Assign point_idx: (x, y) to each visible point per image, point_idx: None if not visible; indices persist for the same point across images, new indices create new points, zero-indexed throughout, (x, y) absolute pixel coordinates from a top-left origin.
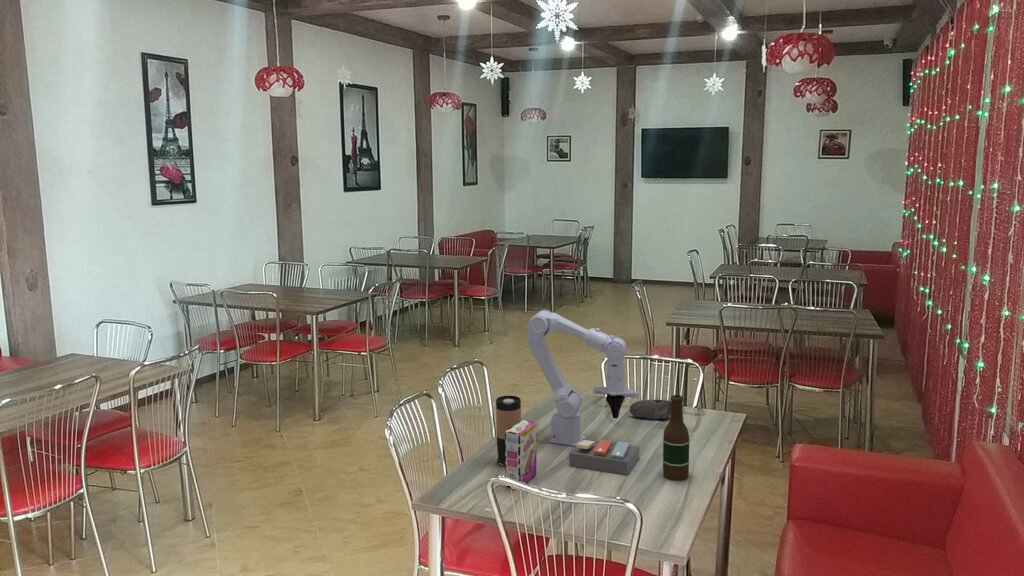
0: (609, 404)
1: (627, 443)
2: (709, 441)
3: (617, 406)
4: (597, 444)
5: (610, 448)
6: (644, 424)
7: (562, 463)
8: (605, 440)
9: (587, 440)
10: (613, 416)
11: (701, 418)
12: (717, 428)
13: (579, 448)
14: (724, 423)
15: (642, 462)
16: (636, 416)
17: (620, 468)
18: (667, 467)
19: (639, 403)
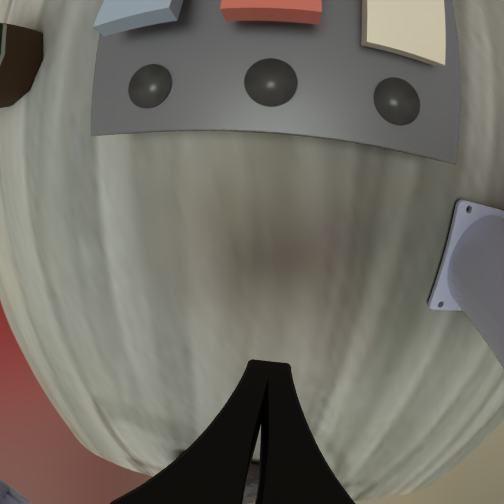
0: (326, 484)
1: (104, 17)
2: (38, 346)
3: (202, 459)
4: (351, 71)
5: (243, 28)
6: None
7: None
8: (276, 3)
9: (422, 51)
10: (280, 371)
11: (122, 450)
12: (70, 409)
13: None
14: (77, 426)
15: None
16: (257, 465)
17: None
18: (8, 24)
19: (244, 497)
